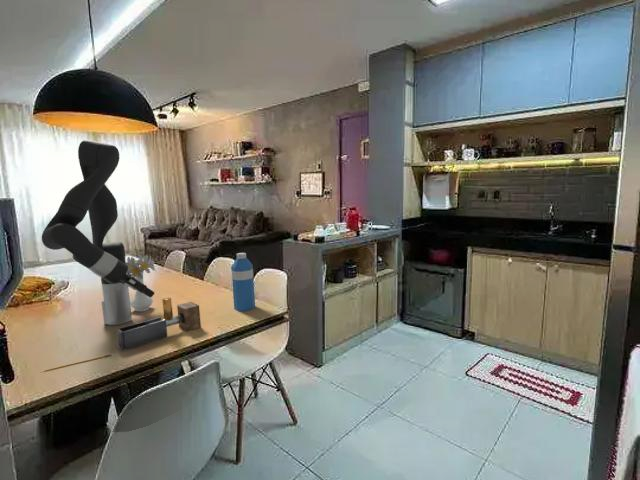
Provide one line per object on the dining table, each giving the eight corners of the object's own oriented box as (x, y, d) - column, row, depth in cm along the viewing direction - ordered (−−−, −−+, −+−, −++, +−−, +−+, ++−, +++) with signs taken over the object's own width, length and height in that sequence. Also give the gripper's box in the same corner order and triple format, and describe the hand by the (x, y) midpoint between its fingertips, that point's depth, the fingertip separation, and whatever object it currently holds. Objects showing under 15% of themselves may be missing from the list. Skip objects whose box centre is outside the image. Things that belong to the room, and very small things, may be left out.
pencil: (112, 356, 114) (112, 353, 114) (112, 356, 113) (112, 353, 114) (39, 374, 104) (39, 371, 104) (39, 374, 103) (38, 371, 104)
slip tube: (151, 332, 124) (148, 304, 122) (148, 330, 126) (145, 302, 124) (194, 320, 135) (191, 294, 133) (190, 318, 137) (188, 292, 136)
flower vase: (126, 318, 147) (121, 261, 144) (127, 306, 163) (122, 254, 160) (160, 313, 153) (156, 258, 150) (157, 301, 169) (153, 251, 166)
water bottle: (234, 312, 151) (230, 256, 147) (233, 305, 160) (230, 252, 156) (256, 309, 153) (252, 254, 150) (254, 303, 162) (251, 251, 159)
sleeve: (123, 351, 116) (121, 332, 115) (118, 346, 120) (116, 328, 119) (167, 337, 127) (165, 320, 126) (161, 333, 130) (160, 316, 129)
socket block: (187, 331, 131) (185, 309, 130) (179, 327, 136) (177, 305, 135) (200, 327, 135) (199, 305, 134) (192, 323, 140) (190, 301, 139)
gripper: (123, 260, 110) (163, 287, 120) (109, 255, 120) (147, 280, 130) (106, 280, 107) (148, 306, 117) (94, 273, 117) (134, 297, 127)
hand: (148, 292), depth 123 cm, fingers open, 8 cm apart
